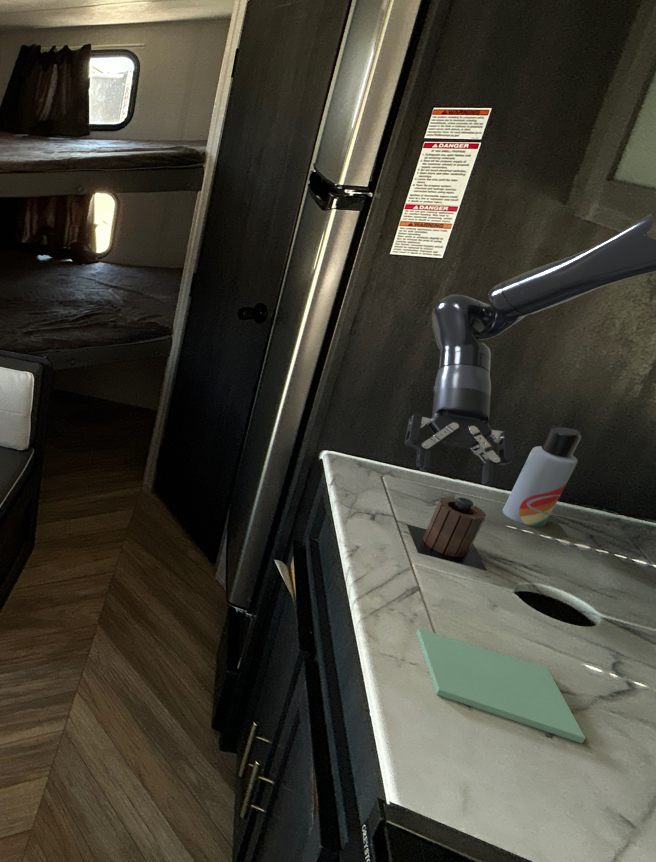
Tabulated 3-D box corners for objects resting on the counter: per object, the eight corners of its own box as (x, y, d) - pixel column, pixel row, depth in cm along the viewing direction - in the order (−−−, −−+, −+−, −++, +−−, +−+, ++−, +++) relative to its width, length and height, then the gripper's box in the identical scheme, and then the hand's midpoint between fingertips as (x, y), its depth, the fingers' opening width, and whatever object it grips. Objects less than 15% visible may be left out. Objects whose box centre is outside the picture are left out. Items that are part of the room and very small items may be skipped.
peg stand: (467, 546, 111) (492, 494, 107) (483, 577, 104) (510, 523, 100) (403, 530, 115) (424, 480, 111) (414, 559, 108) (437, 506, 104)
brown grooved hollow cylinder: (461, 542, 110) (479, 504, 107) (471, 561, 106) (490, 522, 102) (419, 531, 113) (435, 494, 110) (427, 550, 108) (444, 512, 105)
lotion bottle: (547, 536, 114) (597, 440, 106) (505, 527, 116) (551, 432, 109) (535, 520, 118) (582, 426, 111) (495, 511, 121) (538, 419, 113)
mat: (544, 672, 87) (547, 667, 87) (582, 743, 77) (586, 738, 77) (415, 633, 93) (418, 628, 93) (436, 694, 84) (438, 689, 83)
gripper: (420, 378, 116) (412, 460, 111) (524, 395, 109) (521, 483, 105) (404, 393, 122) (396, 472, 117) (502, 410, 116) (498, 494, 111)
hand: (455, 477), depth 111 cm, fingers open, 8 cm apart
